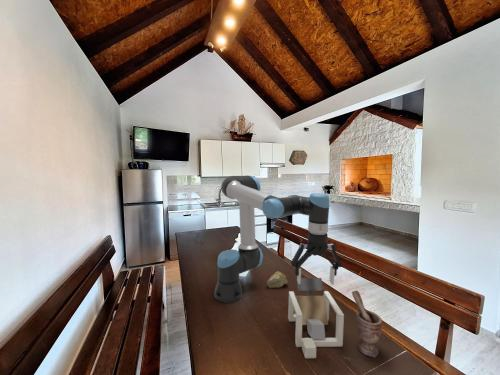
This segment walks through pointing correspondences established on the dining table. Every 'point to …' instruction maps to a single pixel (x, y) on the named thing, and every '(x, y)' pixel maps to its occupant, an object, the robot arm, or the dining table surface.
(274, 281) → the rock
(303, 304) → the trapdoor
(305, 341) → the pumice block
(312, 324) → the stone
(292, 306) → the frame
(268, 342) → the dining table surface
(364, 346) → the mortar and pestle
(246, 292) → the dining table surface
